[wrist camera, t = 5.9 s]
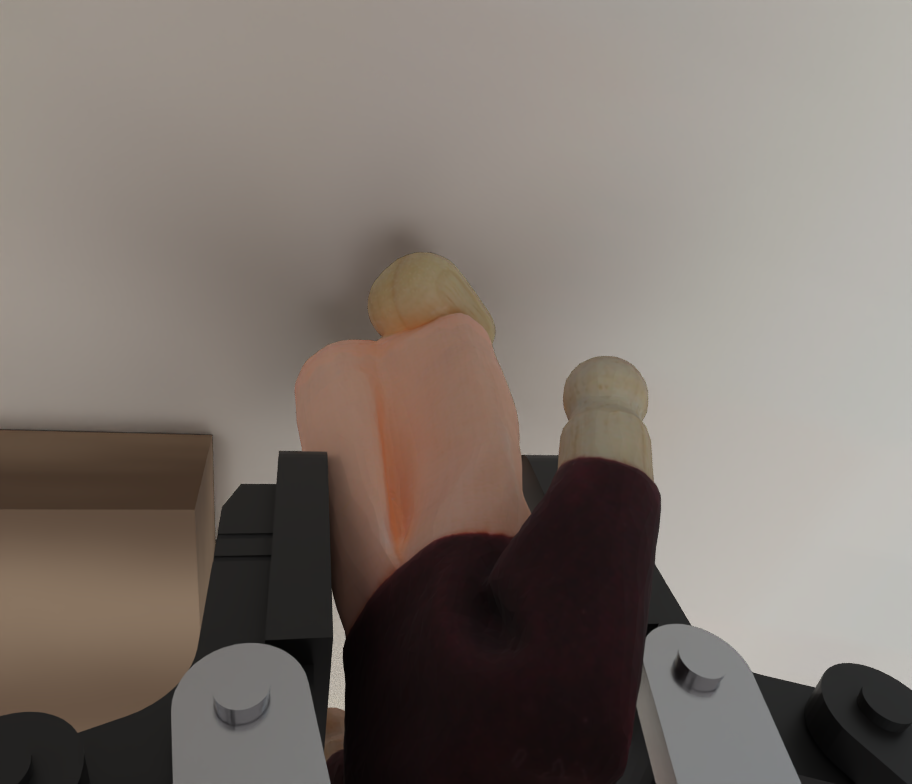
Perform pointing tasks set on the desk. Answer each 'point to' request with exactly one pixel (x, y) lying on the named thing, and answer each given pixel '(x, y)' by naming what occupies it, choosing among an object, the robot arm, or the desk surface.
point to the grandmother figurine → (477, 551)
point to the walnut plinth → (101, 569)
